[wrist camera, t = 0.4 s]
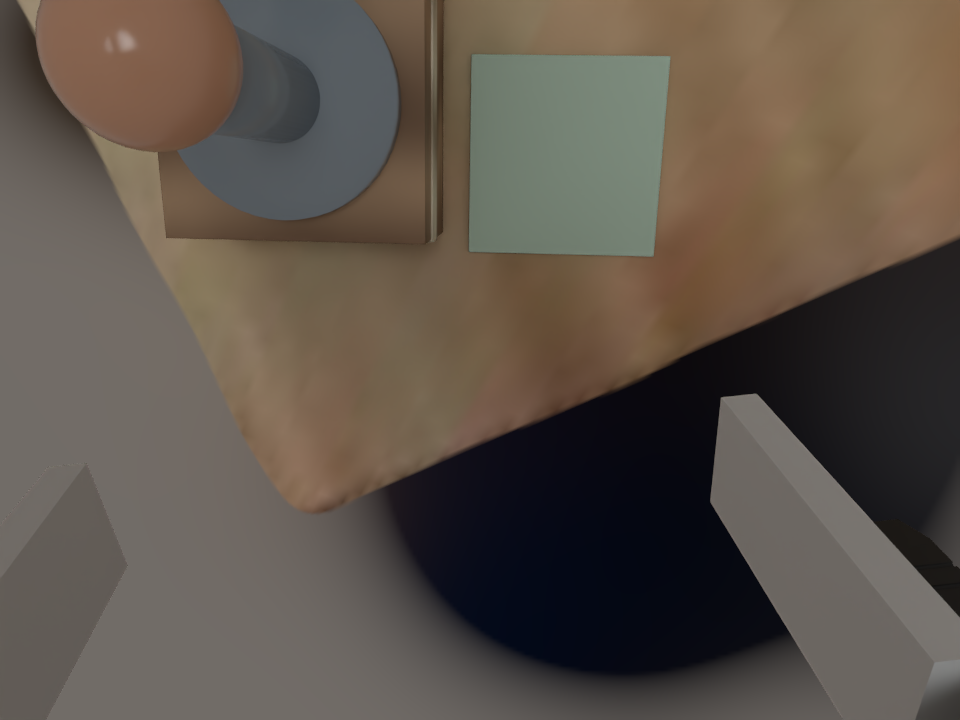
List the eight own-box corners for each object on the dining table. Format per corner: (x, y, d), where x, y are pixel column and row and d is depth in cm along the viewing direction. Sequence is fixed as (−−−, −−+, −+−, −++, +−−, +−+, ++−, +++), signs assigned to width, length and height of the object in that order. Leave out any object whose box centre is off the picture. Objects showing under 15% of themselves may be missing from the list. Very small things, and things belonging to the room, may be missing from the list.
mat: (472, 55, 35) (471, 54, 35) (668, 57, 35) (670, 56, 34) (469, 251, 38) (468, 251, 37) (652, 255, 37) (653, 256, 37)
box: (209, -13, 35) (134, -58, 28) (445, -12, 34) (426, -58, 28) (227, 228, 38) (164, 240, 31) (444, 234, 38) (427, 246, 31)
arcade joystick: (162, -28, 28) (-161, -212, 15) (400, -27, 28) (285, -217, 14) (185, 216, 31) (-73, 246, 18) (402, 221, 31) (308, 256, 17)
